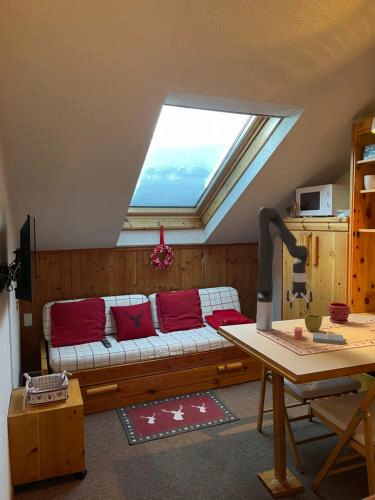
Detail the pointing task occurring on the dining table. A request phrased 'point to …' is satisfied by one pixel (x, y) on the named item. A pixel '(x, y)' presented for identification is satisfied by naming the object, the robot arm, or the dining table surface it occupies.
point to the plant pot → (339, 312)
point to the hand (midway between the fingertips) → (299, 308)
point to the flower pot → (313, 322)
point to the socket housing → (298, 333)
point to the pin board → (328, 338)
